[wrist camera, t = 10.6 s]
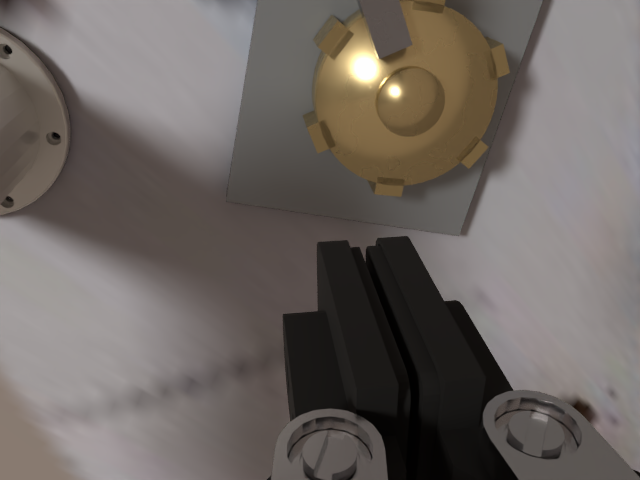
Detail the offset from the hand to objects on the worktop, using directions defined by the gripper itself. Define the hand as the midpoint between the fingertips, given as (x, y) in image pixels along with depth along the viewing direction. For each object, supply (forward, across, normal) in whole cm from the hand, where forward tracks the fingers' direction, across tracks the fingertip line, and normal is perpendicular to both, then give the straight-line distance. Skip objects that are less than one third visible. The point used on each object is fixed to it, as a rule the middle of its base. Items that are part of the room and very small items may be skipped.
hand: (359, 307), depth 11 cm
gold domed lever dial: (+28, -7, 0) cm, 28 cm away
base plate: (+29, -6, +4) cm, 30 cm away
